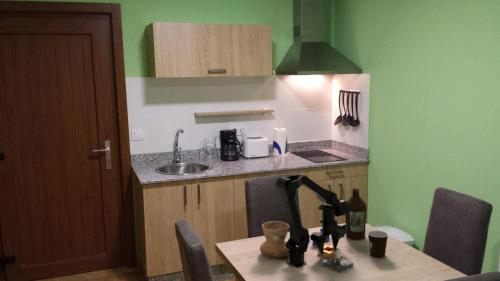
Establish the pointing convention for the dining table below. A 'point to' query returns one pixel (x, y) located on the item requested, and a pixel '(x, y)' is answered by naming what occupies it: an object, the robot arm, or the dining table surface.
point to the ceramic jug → (275, 239)
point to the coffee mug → (377, 243)
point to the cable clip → (325, 240)
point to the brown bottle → (356, 217)
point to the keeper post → (338, 263)
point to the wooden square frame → (328, 252)
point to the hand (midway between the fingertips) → (328, 251)
